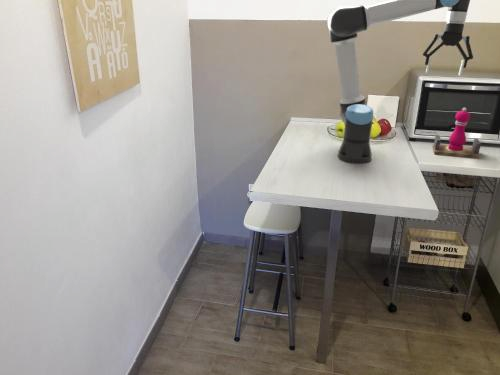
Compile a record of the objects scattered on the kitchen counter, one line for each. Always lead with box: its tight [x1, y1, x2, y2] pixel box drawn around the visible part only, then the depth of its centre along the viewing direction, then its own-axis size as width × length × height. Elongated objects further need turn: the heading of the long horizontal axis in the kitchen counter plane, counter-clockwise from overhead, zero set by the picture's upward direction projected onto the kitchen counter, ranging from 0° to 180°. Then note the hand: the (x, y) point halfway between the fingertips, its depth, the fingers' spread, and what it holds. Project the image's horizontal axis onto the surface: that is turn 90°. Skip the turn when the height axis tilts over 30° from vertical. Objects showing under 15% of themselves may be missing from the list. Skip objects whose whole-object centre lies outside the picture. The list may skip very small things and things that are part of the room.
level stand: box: [431, 134, 482, 160], centre depth 192 cm, size 19×12×6 cm, turn 71°
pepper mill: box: [448, 107, 471, 151], centre depth 188 cm, size 7×7×20 cm
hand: (443, 74), depth 179 cm, fingers open, 13 cm apart
